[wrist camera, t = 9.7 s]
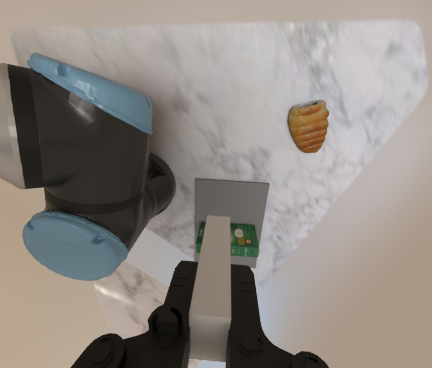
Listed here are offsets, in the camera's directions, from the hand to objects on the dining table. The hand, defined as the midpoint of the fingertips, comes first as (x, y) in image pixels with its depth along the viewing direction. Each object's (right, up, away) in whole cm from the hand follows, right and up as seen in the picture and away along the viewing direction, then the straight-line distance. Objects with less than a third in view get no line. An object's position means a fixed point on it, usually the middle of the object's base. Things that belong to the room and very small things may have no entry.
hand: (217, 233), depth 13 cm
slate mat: (+3, -7, +35) cm, 36 cm away
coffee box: (+9, -9, +31) cm, 33 cm away
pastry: (+17, +15, +25) cm, 34 cm away
